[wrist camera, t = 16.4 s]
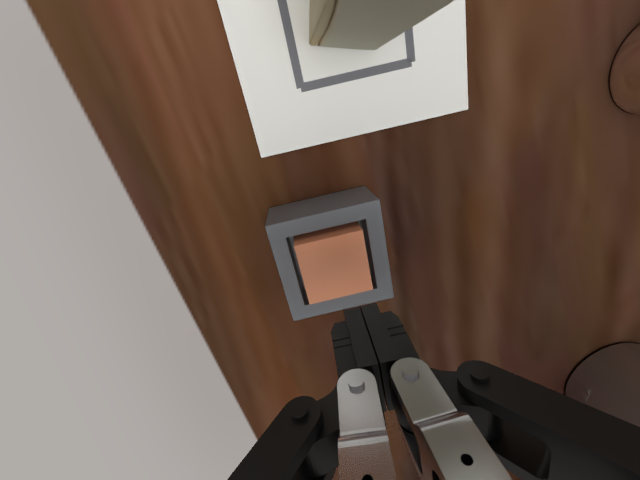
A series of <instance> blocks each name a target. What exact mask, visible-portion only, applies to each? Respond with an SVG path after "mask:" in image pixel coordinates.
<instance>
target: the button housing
mask: <svg viewBox="0 0 640 480" xmlns="http://www.w3.org/2000/svg"><path fill="white" fill-rule="evenodd" d="M355 221H357V222H358V223H359V225H360V226H361V228H362V230H363V234H364V240H365V246H366V251H367V257H368V263H369V269H370V274H371V280H372V286H373V290H369V291H365V292H361V293H356V294H352V295H348V296H344V297H339V298H335V299H331V300H327V301H323V302H318V303H314V304H309V300H308V297H307V293H306V289H305V286H304V282H303V278H302V275H301V271H300V267H299V264H298V260H297V256H296V253H295V249H294V238H293V236H296V235H300V234H304V233H308V232H313V231H317V230H321V229H325V228H330V227H334V226H338V225H342V224H346V223H351V222H355ZM265 228H266V232H267V235H268V238H269V242H270V245H271V248H272V251H273V255H274V258H275V261H276V265H277V268H278V271H279V275H280V278H281V281H282V284H283V288H284V291H285V294H286V298H287V301H288V304H289V308H290V311H291V314H292V317H293V321H296V320H300V319H305V318H309V317H313V316H317V315H322V314H326V313H330V312H334V311H338V310H343V309H347V308H351V307H355V306H359V305H364V304H368V303H372V302H376V301H380V300H385V299H389V298H393V297H394V295H393V288H392V281H391V274H390V267H389V260H388V253H387V247H386V240H385V233H384V226H383V219H382V212H381V205H380V199H379V198H378V197H376V196H375V195H374V194H373V193H372V192H371V191H370V190H369V189H368V188H367V187H366V186H365V185H364V186H360V187H356V188H352V189H347V190H343V191H339V192H335V193H330V194H326V195H322V196H318V197H313V198H309V199H305V200H301V201H296V202H292V203H288V204H284V205H280V206H275V207H271V208H269V210H268V215H267V219H266V224H265Z"/></svg>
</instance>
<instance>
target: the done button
mask: <svg viewBox="0 0 640 480" xmlns="http://www.w3.org/2000/svg"><path fill="white" fill-rule="evenodd" d="M293 238H294V249H295V253H296V256H297V260H298V264H299V267H300V271H301V275H302V278H303V282H304V286H305V289H306V293H307V297H308V300H309V304H314V303H318V302H323V301H327V300H331V299H335V298H339V297H344V296H348V295H352V294H356V293H361V292H365V291H369V290H373V286H372V280H371V274H370V269H369V263H368V257H367V251H366V246H365V240H364V234H363V230H362V228H361V226H360V225H359V223H358V222H357V221H355V222H351V223H346V224H342V225H338V226H334V227H330V228H325V229H321V230H317V231H313V232H308V233H304V234H300V235H296V236H293Z"/></svg>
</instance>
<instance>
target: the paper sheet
mask: <svg viewBox="0 0 640 480" xmlns="http://www.w3.org/2000/svg"><path fill="white" fill-rule="evenodd" d="M217 2H218V6H219V9H220V13H221V16H222V20H223V23H224V27H225V31H226V34H227V38H228V41H229V45H230V48H231V52H232V55H233V59H234V62H235V66H236V70H237V73H238V77H239V80H240V84H241V87H242V91H243V94H244V98H245V101H246V105H247V109H248V112H249V116H250V119H251V123H252V126H253V130H254V133H255V137H256V140H257V144H258V148H259V151H260V155H261V158H263V157H267V156H272V155H276V154H280V153H284V152H289V151H293V150H297V149H301V148H306V147H310V146H314V145H318V144H323V143H327V142H331V141H336V140H340V139H344V138H348V137H353V136H357V135H361V134H365V133H370V132H374V131H378V130H382V129H387V128H391V127H395V126H399V125H404V124H408V123H412V122H416V121H421V120H425V119H429V118H434V117H438V116H442V115H446V114H451V113H455V112H459V111H463V110H468V84H467V49H466V15H465V0H454V1H453V2H451V3H450V4H448V5H447V6H445V7H443V8H442V9H440V10H439V11H437V12H436V13H434V14H433V15H431V16H429V17H427V18H426V19H425V20H423V21H421V22H420V23H418V24H416V25H415V26H413V27H412V28H410V29H408V30H407V31H405V32H403V33H402V34H400V35H399V36H397V37H396V38H394V39H392V40H391V41H389V42H387V43H386V44H384V45H383V46H381V47H380V48H378V49H376V50H361V49H346V48H332V47H323V46H312V45H310V44H309V6H310V0H217Z"/></svg>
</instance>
